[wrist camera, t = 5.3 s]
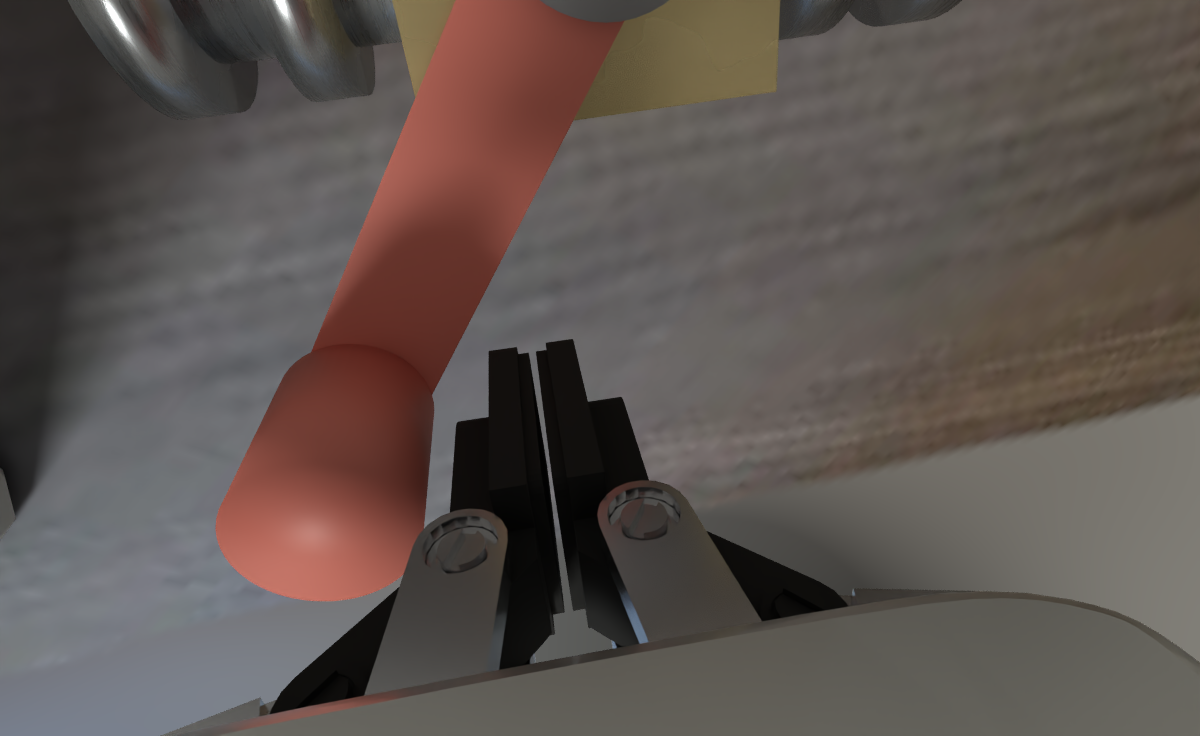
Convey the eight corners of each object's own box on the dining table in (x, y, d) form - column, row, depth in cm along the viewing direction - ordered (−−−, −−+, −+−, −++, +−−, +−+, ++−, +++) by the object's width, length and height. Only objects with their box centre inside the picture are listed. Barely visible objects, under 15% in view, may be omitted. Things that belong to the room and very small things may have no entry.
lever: (540, -323, 9) (601, -599, 5) (735, -154, 10) (914, -251, 6) (262, 395, 14) (171, 572, 10) (419, 446, 15) (399, 620, 11)
